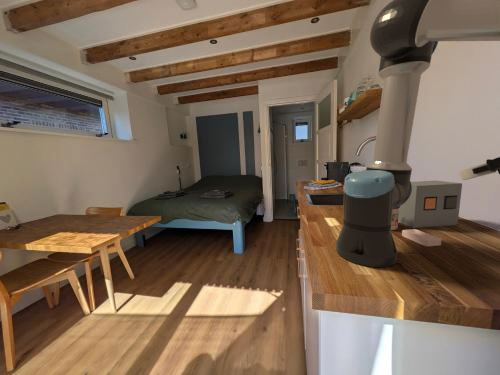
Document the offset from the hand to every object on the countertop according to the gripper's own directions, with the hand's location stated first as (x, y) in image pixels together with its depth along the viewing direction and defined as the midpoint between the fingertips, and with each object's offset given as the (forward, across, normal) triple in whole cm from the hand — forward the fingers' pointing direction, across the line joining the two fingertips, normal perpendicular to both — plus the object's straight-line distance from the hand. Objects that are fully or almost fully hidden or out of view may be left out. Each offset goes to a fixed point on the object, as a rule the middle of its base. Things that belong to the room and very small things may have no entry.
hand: (462, 175), depth 58 cm
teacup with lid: (+26, -4, -12) cm, 29 cm away
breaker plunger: (+22, +9, -5) cm, 24 cm away
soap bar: (+14, -6, -18) cm, 23 cm away
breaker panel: (+24, +13, -12) cm, 30 cm away
